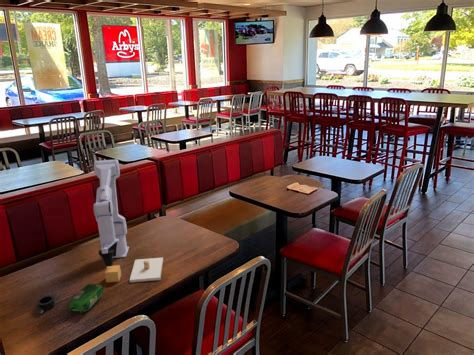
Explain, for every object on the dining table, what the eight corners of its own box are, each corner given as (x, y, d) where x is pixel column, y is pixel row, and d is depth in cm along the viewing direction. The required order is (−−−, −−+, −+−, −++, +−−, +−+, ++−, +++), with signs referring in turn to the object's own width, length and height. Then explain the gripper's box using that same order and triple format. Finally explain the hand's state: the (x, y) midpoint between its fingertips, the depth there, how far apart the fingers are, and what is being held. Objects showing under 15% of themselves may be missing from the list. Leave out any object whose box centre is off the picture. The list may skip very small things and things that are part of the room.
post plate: (135, 262, 168) (134, 253, 167) (163, 259, 169) (162, 251, 168) (129, 282, 153) (128, 273, 151) (160, 279, 154) (159, 270, 153)
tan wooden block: (108, 275, 158) (107, 266, 157) (121, 274, 158) (119, 265, 157) (106, 282, 153) (104, 272, 152) (119, 281, 154) (117, 271, 152)
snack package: (66, 317, 134) (63, 304, 132) (91, 290, 148) (89, 279, 147) (84, 319, 132) (82, 306, 131) (107, 292, 147) (105, 281, 145)
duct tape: (28, 310, 138) (26, 303, 137) (54, 296, 146) (53, 289, 145) (39, 318, 134) (37, 311, 133) (65, 303, 141) (64, 296, 141)
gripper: (113, 237, 143) (118, 269, 147) (120, 221, 156) (124, 251, 161) (94, 239, 142) (99, 271, 146) (102, 223, 156) (107, 252, 160)
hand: (111, 261), depth 153 cm, fingers open, 7 cm apart
